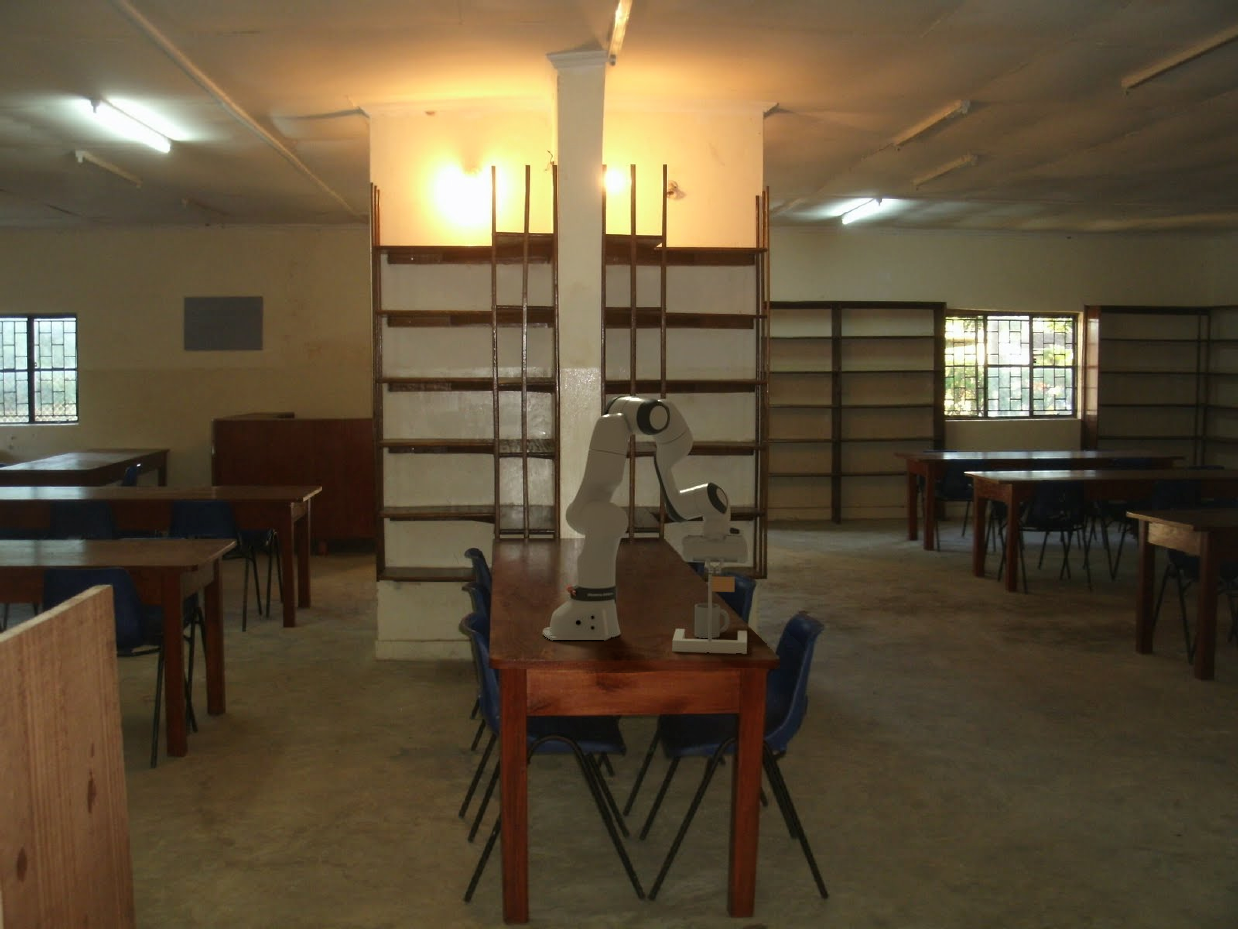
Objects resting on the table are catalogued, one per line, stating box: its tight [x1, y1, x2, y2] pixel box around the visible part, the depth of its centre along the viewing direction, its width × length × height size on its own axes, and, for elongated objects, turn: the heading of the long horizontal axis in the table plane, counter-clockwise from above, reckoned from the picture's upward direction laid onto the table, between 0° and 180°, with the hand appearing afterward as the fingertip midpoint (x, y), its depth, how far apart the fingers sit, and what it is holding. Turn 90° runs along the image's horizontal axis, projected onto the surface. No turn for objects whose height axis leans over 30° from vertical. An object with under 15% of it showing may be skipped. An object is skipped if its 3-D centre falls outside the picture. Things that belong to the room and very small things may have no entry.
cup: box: [694, 602, 731, 639], centre depth 310 cm, size 7×10×9 cm
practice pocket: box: [671, 573, 748, 655], centre depth 297 cm, size 14×20×21 cm
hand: (714, 572), depth 328 cm, fingers closed
